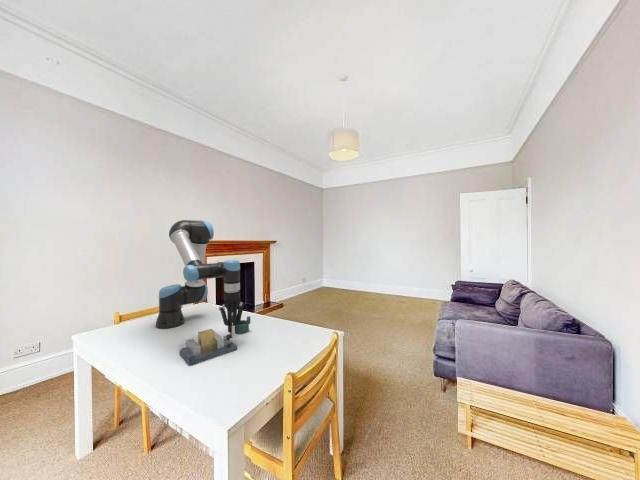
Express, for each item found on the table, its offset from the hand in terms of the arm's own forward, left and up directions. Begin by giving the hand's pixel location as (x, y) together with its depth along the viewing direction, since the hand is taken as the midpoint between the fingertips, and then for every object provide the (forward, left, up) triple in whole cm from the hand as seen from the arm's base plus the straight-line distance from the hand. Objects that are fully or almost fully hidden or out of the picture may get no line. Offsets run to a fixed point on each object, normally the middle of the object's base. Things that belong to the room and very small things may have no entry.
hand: (232, 337), depth 124 cm
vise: (0, -11, -3) cm, 12 cm away
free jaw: (0, -5, -1) cm, 5 cm away
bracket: (-13, +12, -4) cm, 18 cm away
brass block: (0, -13, -1) cm, 13 cm away
